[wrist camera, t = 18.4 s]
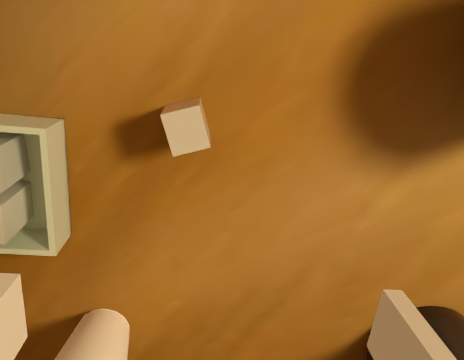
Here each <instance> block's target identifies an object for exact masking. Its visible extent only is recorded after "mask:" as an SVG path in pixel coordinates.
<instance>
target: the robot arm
mask: <svg viewBox="0 0 464 360" xmlns="http://www.w3.org/2000/svg"><path fill="white" fill-rule="evenodd" d="M27 337H28V336H27V328H26V319H25V311H24V303H23V294H22V286H21V278H20V274H9V273H0V360H14V358H15V357H16V355H17V353H18V352H19V350H20V348H21V347H22V345H23V344H24V342H25V340H26V339H27ZM367 348H368V353H367V360H464V316H463V315H461V314H460V313H458V312H456V311H454V310H452V309H448V308H444V307H422V308H416V307H415V306H414V305H413V303H412V302H411V301H410V300H409V298H408V297H407V296H406V295H405V293H404V292H403V291H402V290H384V289H383V291H382V295H381V298H380V301H379V305H378V308H377V312H376V315H375V319H374V322H373V325H372V329H371V332H370V336H369V339H368V342H367Z"/></svg>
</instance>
